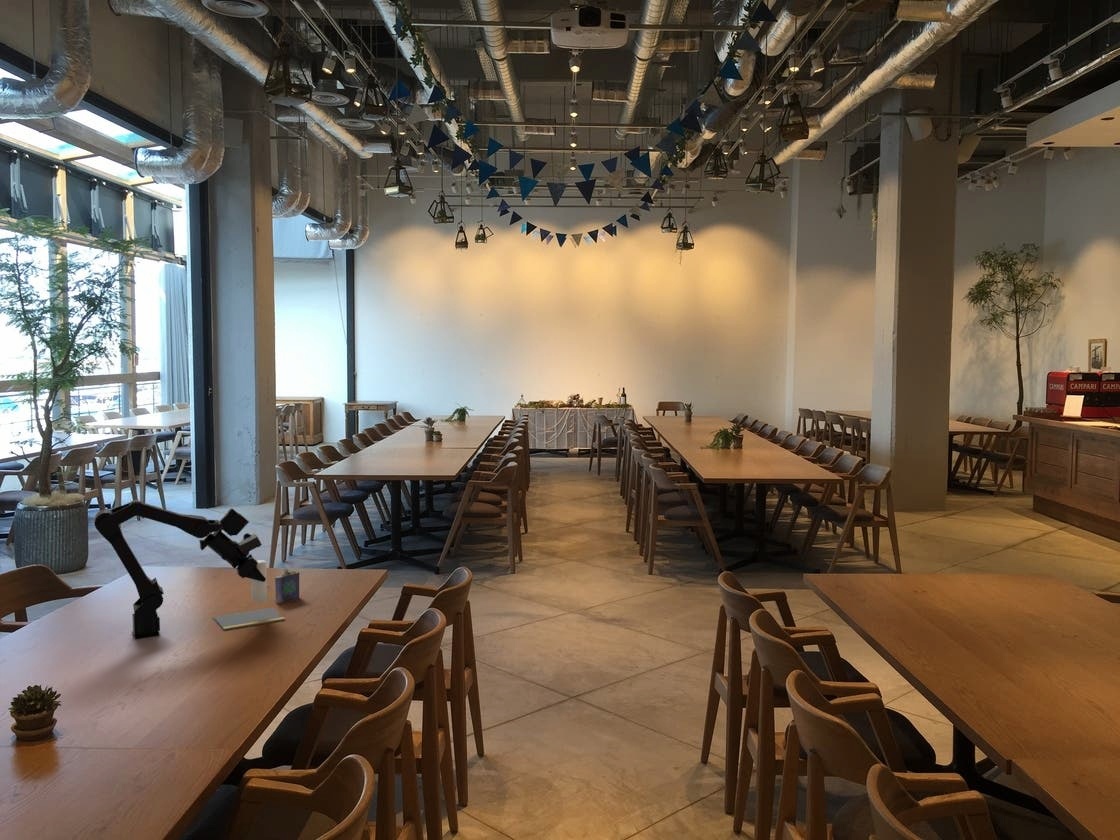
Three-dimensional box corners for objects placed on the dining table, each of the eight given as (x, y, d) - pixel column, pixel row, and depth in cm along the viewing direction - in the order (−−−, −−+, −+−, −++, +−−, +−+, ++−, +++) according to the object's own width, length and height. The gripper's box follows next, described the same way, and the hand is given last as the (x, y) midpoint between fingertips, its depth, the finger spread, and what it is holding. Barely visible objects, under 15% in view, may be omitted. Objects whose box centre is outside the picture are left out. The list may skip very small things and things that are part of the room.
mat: (224, 630, 258) (224, 628, 258) (213, 618, 270) (213, 616, 270) (285, 620, 269) (285, 618, 268) (272, 609, 280) (272, 607, 280)
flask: (278, 604, 285) (278, 572, 284) (272, 603, 287) (272, 571, 286) (301, 598, 293) (300, 566, 292) (295, 596, 294) (295, 565, 294)
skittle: (259, 603, 266) (258, 564, 266) (248, 601, 269) (247, 562, 268) (270, 599, 271) (269, 561, 270) (259, 597, 273) (259, 559, 272)
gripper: (249, 532, 258) (288, 565, 264) (239, 521, 274) (276, 552, 280) (221, 561, 255) (261, 593, 261) (213, 549, 271) (251, 579, 277)
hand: (263, 578), depth 270 cm, fingers closed on skittle, 5 cm apart
